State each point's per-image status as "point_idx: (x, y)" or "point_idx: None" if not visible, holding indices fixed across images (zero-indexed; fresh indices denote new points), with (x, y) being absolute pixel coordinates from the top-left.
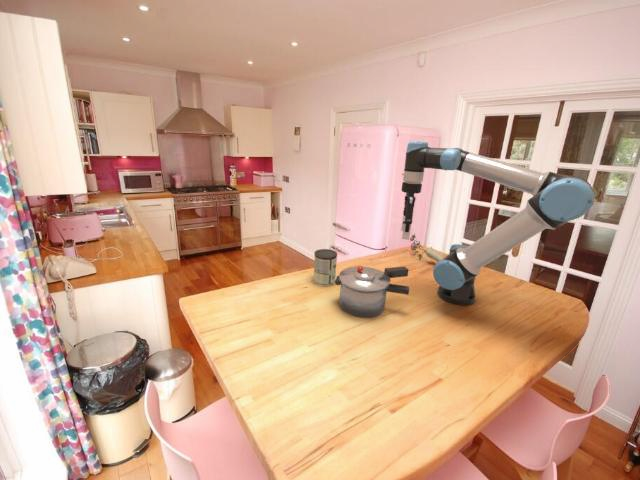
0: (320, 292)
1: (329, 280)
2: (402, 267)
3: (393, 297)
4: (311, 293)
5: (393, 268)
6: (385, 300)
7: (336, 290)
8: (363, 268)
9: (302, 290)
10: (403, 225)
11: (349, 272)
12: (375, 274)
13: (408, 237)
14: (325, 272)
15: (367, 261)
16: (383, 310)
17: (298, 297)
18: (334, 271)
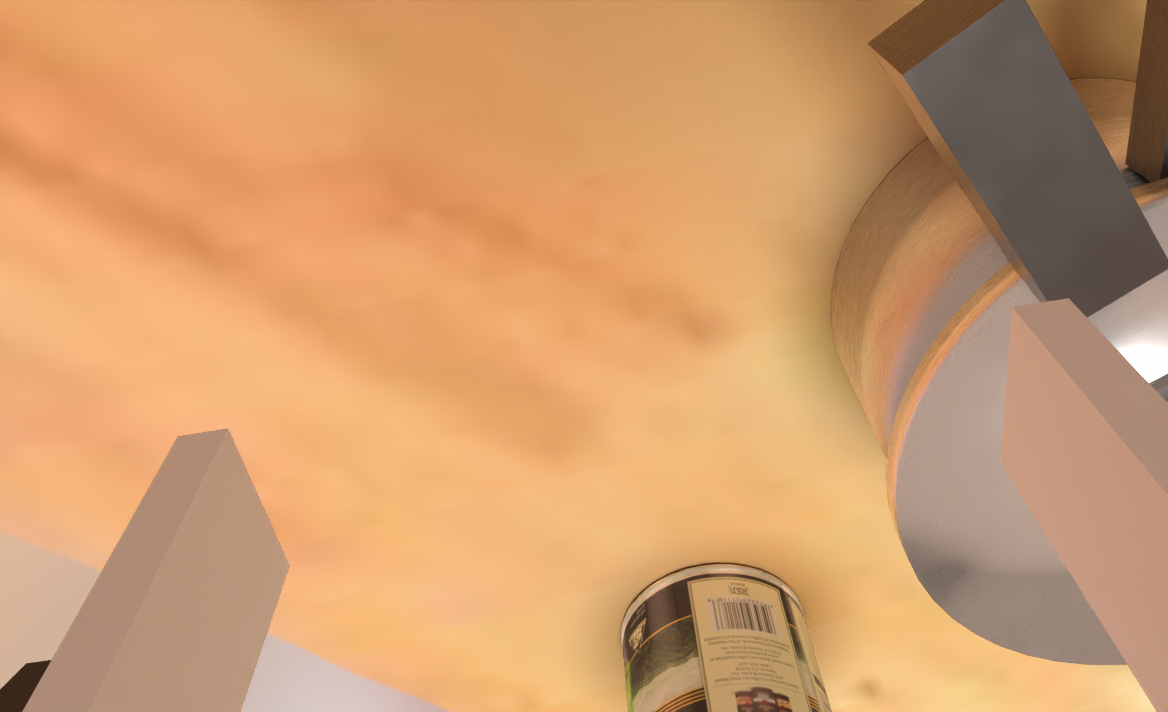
0: (914, 594)
1: (791, 619)
2: (959, 101)
3: (780, 36)
4: (950, 633)
5: (1041, 222)
6: (1107, 110)
7: (838, 516)
8: (956, 520)
9: (924, 689)
10: (226, 666)
11: None
12: None
13: (1101, 354)
14: (830, 707)
15: (42, 463)
16: (1126, 84)
17: (1033, 673)
18: (757, 660)
